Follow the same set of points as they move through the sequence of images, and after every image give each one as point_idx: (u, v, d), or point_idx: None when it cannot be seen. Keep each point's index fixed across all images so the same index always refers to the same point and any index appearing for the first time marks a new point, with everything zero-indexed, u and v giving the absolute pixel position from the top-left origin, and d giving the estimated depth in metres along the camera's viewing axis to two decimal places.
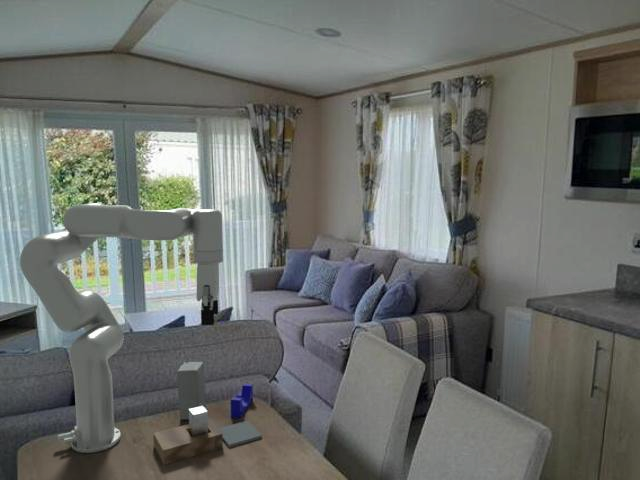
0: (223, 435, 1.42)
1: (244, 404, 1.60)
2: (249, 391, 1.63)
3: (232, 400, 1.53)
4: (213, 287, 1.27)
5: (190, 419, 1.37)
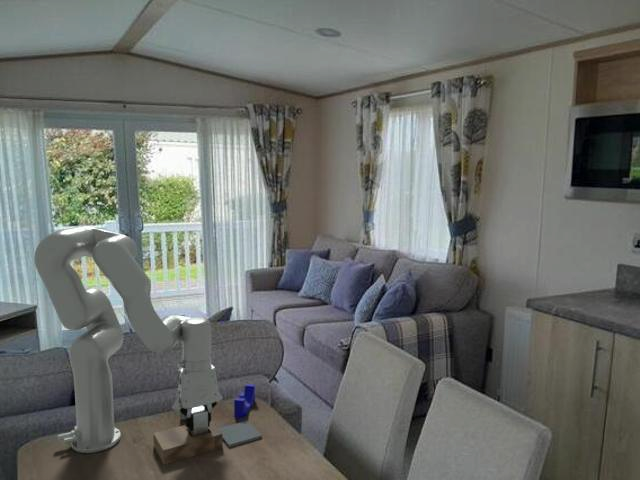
0: (223, 435, 1.42)
1: (247, 404, 1.59)
2: (252, 391, 1.62)
3: (236, 400, 1.53)
4: None
5: None
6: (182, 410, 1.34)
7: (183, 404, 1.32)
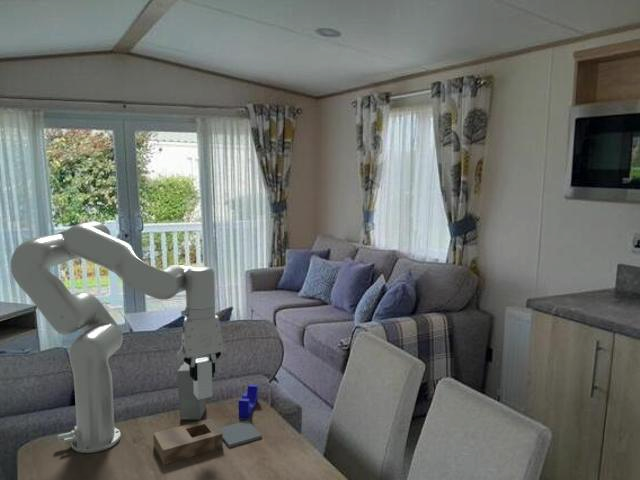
0: (223, 435, 1.42)
1: (250, 405, 1.59)
2: (255, 392, 1.62)
3: (240, 401, 1.52)
4: None
5: None
6: (186, 359, 1.32)
7: (187, 352, 1.31)
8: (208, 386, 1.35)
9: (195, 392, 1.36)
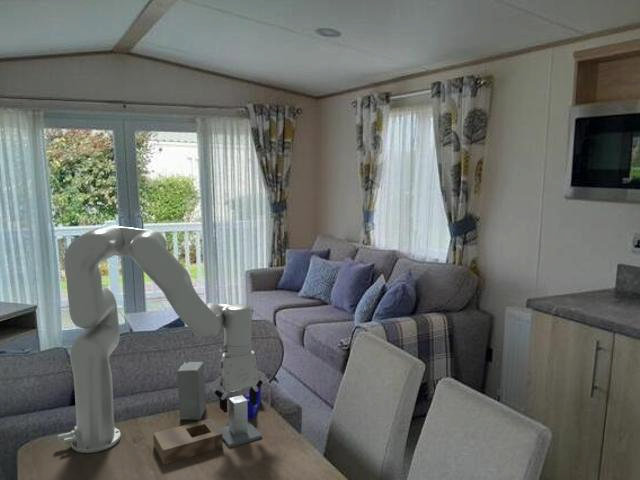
0: (223, 435, 1.42)
1: (254, 405, 1.59)
2: (258, 392, 1.62)
3: None
4: None
5: (230, 408, 1.42)
6: (217, 392, 1.37)
7: (225, 387, 1.37)
8: (243, 424, 1.42)
9: (231, 429, 1.43)
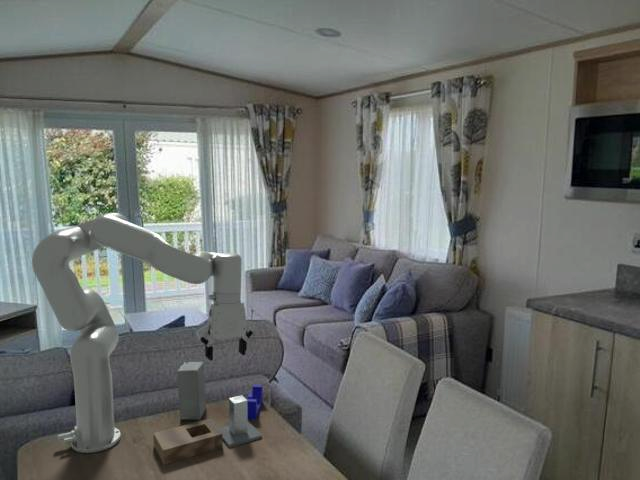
0: (223, 435, 1.42)
1: (256, 405, 1.59)
2: (260, 392, 1.62)
3: (248, 402, 1.52)
4: None
5: (230, 408, 1.42)
6: (203, 339, 1.36)
7: (213, 335, 1.35)
8: (243, 424, 1.42)
9: (231, 429, 1.43)
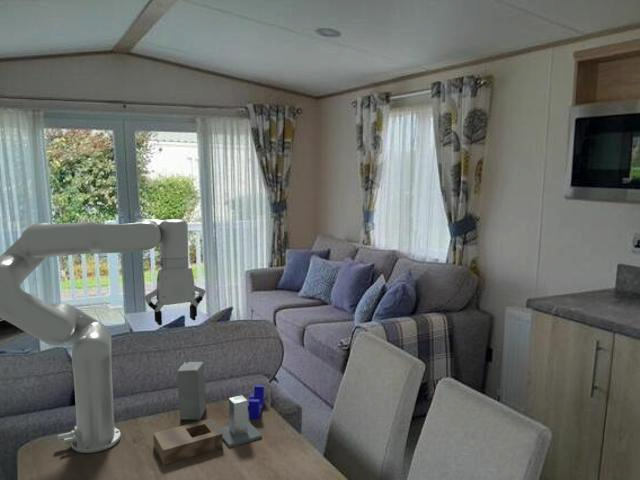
0: (223, 435, 1.42)
1: (259, 405, 1.59)
2: (262, 392, 1.62)
3: (250, 402, 1.52)
4: None
5: (230, 408, 1.42)
6: (151, 304, 1.38)
7: (161, 300, 1.37)
8: (243, 424, 1.42)
9: (231, 429, 1.43)
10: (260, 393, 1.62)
